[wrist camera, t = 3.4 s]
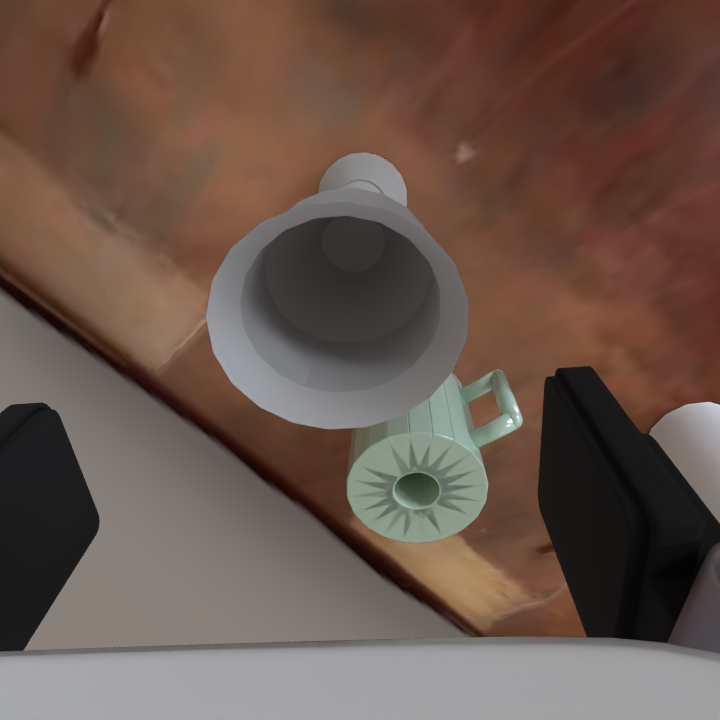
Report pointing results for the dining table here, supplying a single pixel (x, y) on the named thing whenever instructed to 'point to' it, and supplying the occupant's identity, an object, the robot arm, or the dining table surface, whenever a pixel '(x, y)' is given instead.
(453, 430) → the mug
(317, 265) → the chalice
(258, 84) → the dining table surface
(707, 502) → the foam cup
